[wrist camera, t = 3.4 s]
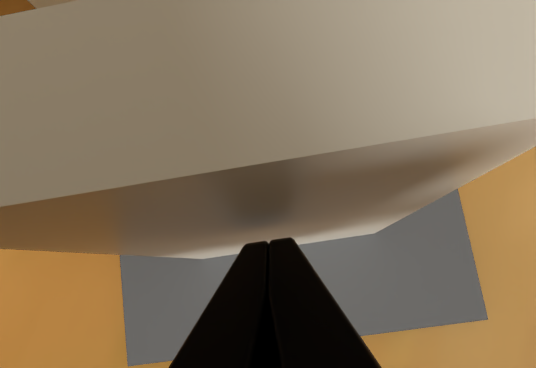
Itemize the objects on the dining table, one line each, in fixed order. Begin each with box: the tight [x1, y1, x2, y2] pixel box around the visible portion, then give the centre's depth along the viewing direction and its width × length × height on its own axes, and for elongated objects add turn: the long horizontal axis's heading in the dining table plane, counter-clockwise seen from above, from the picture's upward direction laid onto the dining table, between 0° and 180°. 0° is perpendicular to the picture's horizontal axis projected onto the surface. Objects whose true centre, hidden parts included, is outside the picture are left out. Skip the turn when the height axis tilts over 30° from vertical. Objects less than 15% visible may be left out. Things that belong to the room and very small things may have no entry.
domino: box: [0, 0, 536, 259], centre depth 9 cm, size 2×6×12 cm, turn 99°
